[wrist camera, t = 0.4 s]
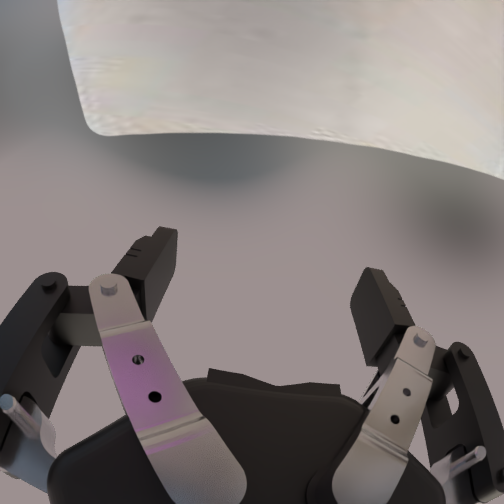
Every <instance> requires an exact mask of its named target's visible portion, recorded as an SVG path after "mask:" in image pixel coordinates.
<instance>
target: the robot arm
mask: <svg viewBox="0 0 504 504" xmlns="http://www.w3.org/2000/svg"><path fill="white" fill-rule="evenodd" d="M177 237H178V232H177V230H176V229H171V228H165V227H158V228H157V230H156V231H155V233H154V234H153V235H152V237H150V236H144V237H142V238H140V239H138V240H136V241H135V243H134V244H133V245H132V246H131V248H130V249H129V250H128V252H127V253H126V255H124V257H123V258H122V259H121V261H120V262H119V263H118V264H117V266H116V267H115V269H114V270H113V271H112V272H111V274H103V275H100V276H98V277H96V278H95V279H93V280H92V281H91V283H90V285H89V286H68V281H67V278H66V277H65V276H64V275H63V274H61V273H57V272H49V273H45V274H43V275H41V276H39V277H38V278H36V279H35V280H34V282H33V283H32V284H31V285H30V286H29V288H28V289H27V290H26V292H25V293H24V294H23V295H22V297H21V298H20V299H19V300H18V302H17V303H16V304H15V306H14V307H13V308H12V310H11V311H10V312H9V314H8V315H7V317H6V318H5V319H4V321H3V322H2V324H1V325H0V471H2V472H4V473H6V474H7V475H9V476H11V477H13V478H15V479H21V480H23V481H25V482H27V483H28V484H30V485H32V486H34V487H36V488H38V489H40V490H42V491H43V492H45V493H48V496H49V500H50V504H485V503H487V502H489V501H491V500H493V499H495V498H497V497H499V496H500V495H502V494H504V430H503V426H502V423H501V420H500V418H499V414H498V412H497V409H496V406H495V404H494V401H493V398H492V396H491V393H490V390H489V388H488V386H487V383H486V381H485V378H484V376H483V374H482V371H481V369H480V367H479V365H478V362H477V360H476V358H475V356H474V354H473V352H472V351H471V349H470V348H469V347H467V346H466V345H465V344H463V343H461V342H454V343H453V344H452V345H451V346H450V347H449V349H448V350H446V349H443V348H440V347H438V346H436V344H435V340H434V338H433V337H432V335H431V334H430V333H429V332H427V331H426V330H425V329H423V328H421V327H418V326H415V324H414V322H413V319H412V317H411V316H410V313H409V311H408V309H407V307H405V303H404V301H403V300H402V297H401V295H400V293H399V292H398V290H397V289H396V288H395V287H394V286H393V285H392V284H391V283H390V282H389V281H388V279H387V277H386V275H385V273H384V272H383V270H379V269H374V268H369V267H367V268H365V269H364V271H363V273H362V275H361V277H360V280H359V282H358V284H357V287H356V288H355V290H354V293H353V295H352V297H351V302H350V308H351V312H352V315H353V318H354V322H355V325H356V329H357V333H358V336H359V340H360V343H361V347H362V351H363V354H364V358H365V362H366V365H367V366H374V367H378V370H377V372H376V373H375V375H374V376H373V378H372V380H371V381H370V383H369V385H368V386H367V388H366V390H365V392H364V393H363V395H362V396H361V398H360V399H359V401H358V402H357V401H356V400H354V399H352V398H350V397H347V396H345V395H342V394H341V390H340V385H339V384H324V383H323V384H322V383H311V382H309V383H302V384H295V385H286V386H275V385H271V384H269V383H266V382H263V381H260V380H257V379H255V378H252V377H249V376H246V375H244V374H239V373H232V372H227V371H221V370H216V369H211V368H209V371H208V376H207V378H195V379H190V380H185V381H181V379H180V377H179V376H178V374H177V372H176V370H175V368H174V366H173V365H172V363H171V361H170V359H169V357H168V355H167V353H166V351H165V349H164V347H163V345H162V343H161V342H160V340H159V337H158V335H157V333H156V331H155V329H154V327H153V325H152V320H153V318H154V316H155V314H156V312H157V309H158V307H159V305H160V303H161V301H162V298H163V296H164V294H165V292H166V290H167V288H168V285H169V283H170V281H171V279H172V277H173V274H174V271H175V266H176V252H177ZM81 346H102V348H103V351H104V354H105V358H106V361H107V364H108V367H109V370H110V373H111V376H112V379H113V382H114V385H115V387H116V390H117V393H118V395H119V398H120V400H121V403H122V406H123V409H124V411H125V413H126V415H124V416H123V417H121V418H120V419H118V420H116V421H115V422H113V423H111V424H110V425H108V426H106V427H105V428H103V429H101V430H100V431H98V432H96V433H95V434H93V435H91V436H89V437H88V438H86V439H84V440H82V441H81V442H79V443H77V444H75V445H73V446H72V447H70V448H68V449H66V450H64V451H63V452H62V453H61V454H59V456H58V457H57V456H56V453H55V448H54V447H55V446H54V444H55V438H56V434H55V429H54V426H53V424H52V423H51V421H50V420H49V417H50V415H51V412H52V409H53V407H54V405H55V402H56V400H57V397H58V394H59V393H60V390H61V388H62V385H63V383H64V381H65V379H66V376H67V374H68V372H69V370H70V368H71V365H72V363H73V361H74V359H75V357H76V355H77V353H78V351H79V349H80V347H81ZM453 388H455V391H456V394H457V396H458V399H459V407H458V410H457V411H456V413H455V414H453V415H452V413H451V410H450V406H449V403H448V400H447V397H446V395H447V394H448V392H450V391H451V390H452V389H453ZM420 419H421V421H422V426H423V431H424V436H425V440H426V445H427V450H428V456H429V462H430V468H431V469H430V472H429V471H428V470H427V469H426V468H425V467H424V466H423V465H422V464H421V463H420V462H419V461H418V460H417V459H416V458H415V457H414V456H413V455H412V454H411V453H410V452H409V451H408V449H409V447H410V444H411V442H412V439H413V437H414V434H415V432H416V429H417V427H418V424H419V421H420Z"/></svg>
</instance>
